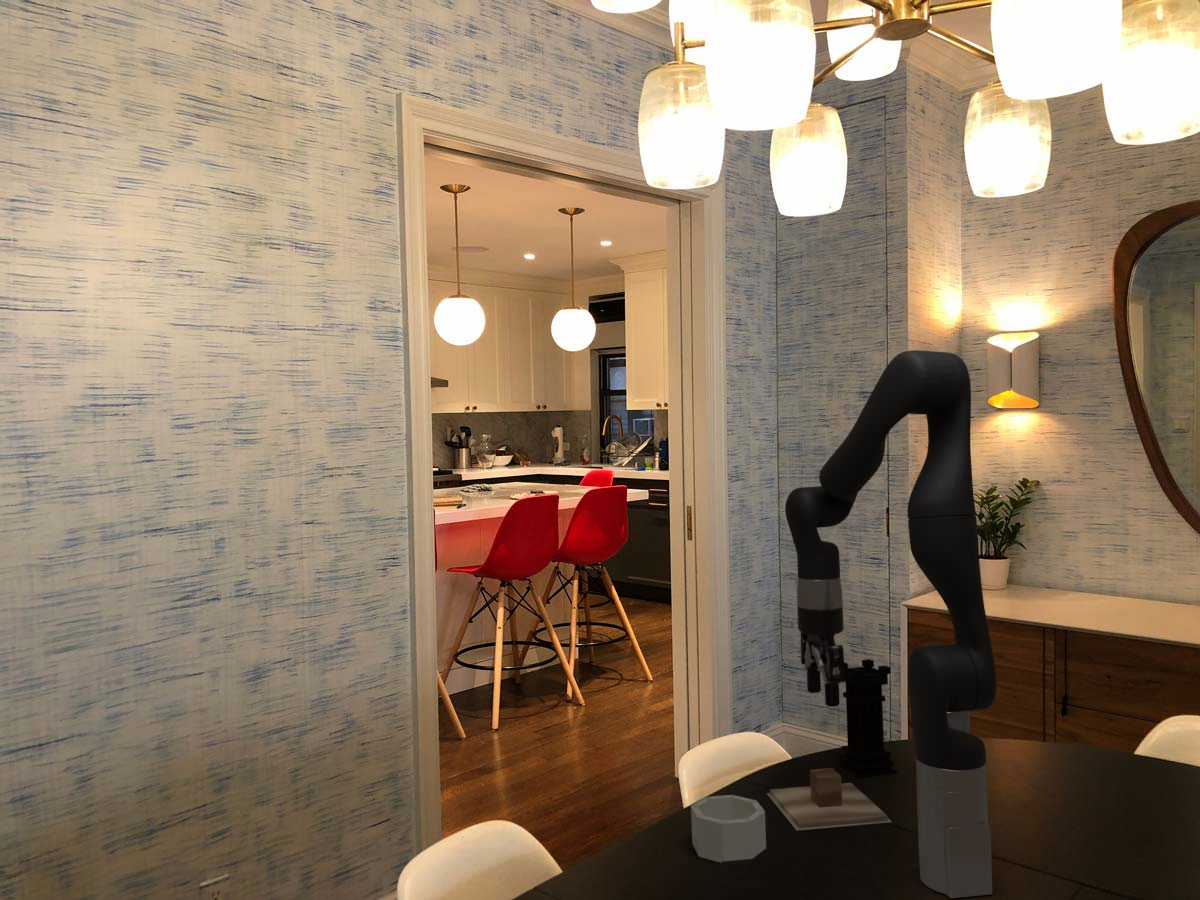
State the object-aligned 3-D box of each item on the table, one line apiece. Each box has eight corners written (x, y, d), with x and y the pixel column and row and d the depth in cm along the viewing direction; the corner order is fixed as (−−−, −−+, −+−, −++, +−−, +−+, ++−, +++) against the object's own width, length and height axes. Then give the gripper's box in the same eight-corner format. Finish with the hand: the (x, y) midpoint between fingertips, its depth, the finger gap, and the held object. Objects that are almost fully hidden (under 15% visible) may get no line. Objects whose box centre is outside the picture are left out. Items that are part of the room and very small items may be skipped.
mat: (892, 824, 148) (892, 821, 148) (796, 832, 146) (796, 830, 146) (852, 788, 163) (852, 786, 163) (766, 795, 161) (766, 793, 161)
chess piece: (859, 780, 167) (855, 671, 167) (836, 766, 175) (833, 662, 175) (897, 774, 169) (893, 667, 169) (873, 761, 177) (869, 658, 177)
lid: (887, 820, 148) (886, 785, 148) (798, 828, 146) (797, 792, 146) (851, 787, 163) (850, 754, 163) (770, 794, 161) (769, 761, 161)
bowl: (772, 859, 137) (771, 819, 137) (703, 865, 135) (702, 825, 135) (752, 830, 147) (750, 793, 147) (688, 835, 146) (686, 798, 146)
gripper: (857, 609, 148) (861, 709, 148) (825, 595, 162) (828, 686, 162) (813, 612, 147) (816, 712, 147) (784, 598, 161) (788, 689, 161)
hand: (822, 698), depth 155 cm, fingers open, 8 cm apart
